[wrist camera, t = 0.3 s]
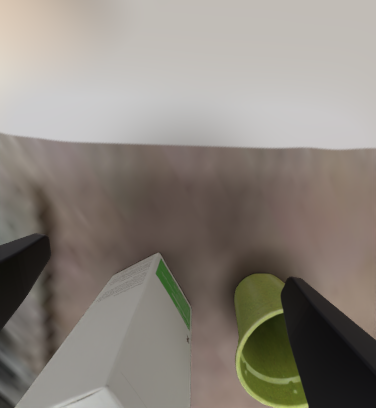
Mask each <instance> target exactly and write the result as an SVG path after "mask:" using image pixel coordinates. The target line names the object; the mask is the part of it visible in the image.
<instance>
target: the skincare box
mask: <svg viewBox="0 0 376 408" xmlns="http://www.w3.org/2000/svg"><path fill="white" fill-rule="evenodd" d="M191 328H192V308H191V306H190V304H189V302H188V301H187V299H186V297H185V295H184V294H183V292H182V290H181V288H180V287H179V285H178V283H177V282H176V280H175V278H174V277H173V275H172V273H171V272H170V270H169V268H168V266H167V265H166V263H165V261H164V259H163V257H162V256H161V254H160V253H156V254H154V255H152V256H150V257H148V258H146V259H144V260H142V261H140V262H138V263H136V264H134V265H132V266H130V267H128V268H127V269H125V270H123V271H121V272H119V273H117V274H115V275H113V276H112V277H111V279H110V280H109V282H108V283H107V284H106V286H105V287H104V288H103V290H102V291H101V292H100V294H99V295H98V296H97V298H96V299H95V300H94V302H93V303H92V304H91V306H90V307H89V308H88V310H87V311H86V312H85V314H84V315H83V316H82V318H81V319H80V321H79V322H78V323H77V325H76V326H75V327H74V329H73V330H72V331H71V333H70V334H69V335H68V337H67V338H66V339H65V341H64V342H63V343H62V345H61V346H60V348H59V349H58V350H57V352H56V353H55V354H54V356H53V357H52V358H51V360H50V361H49V362H48V364H47V365H46V366H45V368H44V369H43V370H42V372H41V373H40V374H39V376H38V377H37V378H36V380H35V381H34V382H33V384H32V385H31V386H30V388H29V389H28V391H27V392H26V393H25V395H24V396H23V397H22V399H21V400H20V401H19V403H18V404H17V405H16V407H15V408H190V389H191Z"/></svg>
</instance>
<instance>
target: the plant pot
mask: <svg viewBox="0 0 376 408" xmlns="http://www.w3.org/2000/svg"><path fill="white" fill-rule="evenodd" d="M284 285H285V283H284V282H282V281H281V280H280V279H279V278H277V277H276V276H274V275H271V274H252V275H250V276H248V277H246V278H245V279H243V280H242V281H241V282H240V283H239V285H238V286H237V288H236V290H235V296H234V304H235V311H236V318H237V325H238V333H239V340H238V346H237V350H236V356H235V365H236V372H237V376H238V378H239V381H240V383H241V385H242V386H243V387H244V389H245V390H246V391H247V392H248V394H249V395H251V396H252V397H253V398H255V399H256V400H258V401H259V402H261V403H263V404H265V405H268V406H271V407H274V408H307V407H308V403H307V400H306V397H305V393H304V390H303V387H302V383H301V380H300V376H299V373H298V370H297V366H296V363H295V360H294V356H293V353H292V349H291V346H290V342H289V339H288V334H287V329H286V324H285V319H284V314H283V308H282V303H281V298H280V295H281V291H282V289H283V287H284Z"/></svg>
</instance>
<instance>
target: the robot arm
mask: <svg viewBox="0 0 376 408" xmlns="http://www.w3.org/2000/svg"><path fill="white" fill-rule="evenodd" d="M50 256H51V249H50V241H49V237H48V236H47V235H44V234H37V233H36V234H32V235H29V236H26V237H23V238H20V239H18V240H15V241H12V242H9V243H6V244H3V245H0V331H1V329H2V328H3V327H4V326H5V324H6V323H7V322H8V320H9V319H10V318H11V316H12V315H13V314H14V312H15V311H16V310H17V308H18V307H19V306H20V305H21V303H22V302H23V300H24V299H25V298H26V296H27V295H28V293H29V292H30V290H31V288H32V287H33V285H34V284H35V282H36V280H37V279H38V277H39V275H40V274H41V272H42V271H43V269H44V267H45V266H46V264H47V262H48V261H49V259H50ZM280 298H281V303H282V308H283V314H284V319H285V324H286V329H287V334H288V339H289V342H290V346H291V349H292V353H293V356H294V360H295V363H296V366H297V370H298V373H299V376H300V380H301V383H302V387H303V390H304V393H305V397H306V400H307V403H308V407H309V408H376V340H375V339H374V338H373V337H371V336H370V335H369V334H368V333H366V332H365V331H364V330H363V329H362V328H360V327H359V326H358V325H357V324H356V323H354V322H353V321H352V320H351V319H350V318H348V317H347V316H346V315H345V314H344V313H342V312H341V311H340V310H339V309H337V308H336V307H335V306H334V305H333V304H331V303H330V302H329V301H328V300H327V299H325V298H324V297H323V296H322V295H321V294H319V293H318V292H317V291H316V290H315V289H313V288H312V287H311V286H310V285H308V284H307V283H306V282H305V281H304V280H302V279H301V278H297V277H289V278H288V279H287V281H286V283H285V285H284V287H283V289H282V291H281V295H280Z"/></svg>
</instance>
